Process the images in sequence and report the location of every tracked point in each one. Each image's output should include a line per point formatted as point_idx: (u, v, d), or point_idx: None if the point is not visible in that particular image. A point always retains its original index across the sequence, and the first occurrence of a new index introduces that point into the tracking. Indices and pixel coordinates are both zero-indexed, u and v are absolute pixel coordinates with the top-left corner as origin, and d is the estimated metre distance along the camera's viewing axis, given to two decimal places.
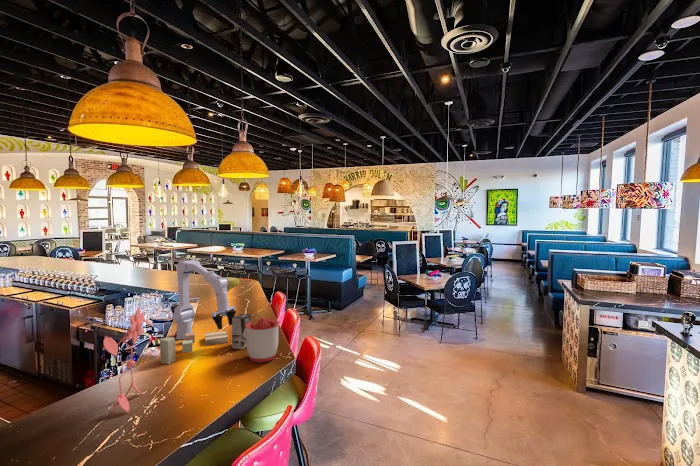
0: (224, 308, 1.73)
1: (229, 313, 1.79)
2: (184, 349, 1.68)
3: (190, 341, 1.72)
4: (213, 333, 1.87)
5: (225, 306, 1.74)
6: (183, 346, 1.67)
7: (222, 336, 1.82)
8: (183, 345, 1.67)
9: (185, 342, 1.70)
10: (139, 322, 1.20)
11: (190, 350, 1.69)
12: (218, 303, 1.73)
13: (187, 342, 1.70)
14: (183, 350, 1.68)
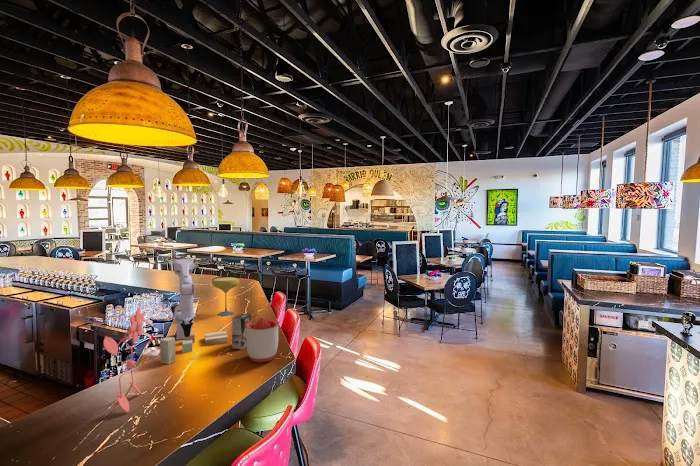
0: (192, 314, 1.69)
1: None
2: (184, 349, 1.68)
3: (190, 341, 1.72)
4: (213, 333, 1.87)
5: (192, 312, 1.70)
6: (183, 346, 1.67)
7: (222, 336, 1.82)
8: (183, 345, 1.67)
9: (185, 342, 1.70)
10: (139, 322, 1.20)
11: (190, 350, 1.69)
12: (186, 310, 1.67)
13: (187, 342, 1.70)
14: (183, 350, 1.68)
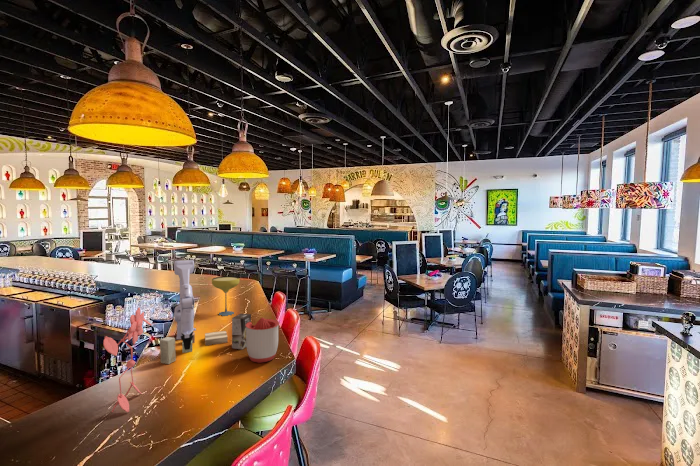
0: (192, 328, 1.69)
1: None
2: (184, 348, 1.68)
3: None
4: (213, 333, 1.87)
5: (192, 326, 1.70)
6: (183, 346, 1.67)
7: (222, 336, 1.82)
8: (183, 345, 1.67)
9: None
10: (139, 322, 1.20)
11: (190, 350, 1.69)
12: (187, 323, 1.67)
13: None
14: (183, 350, 1.68)
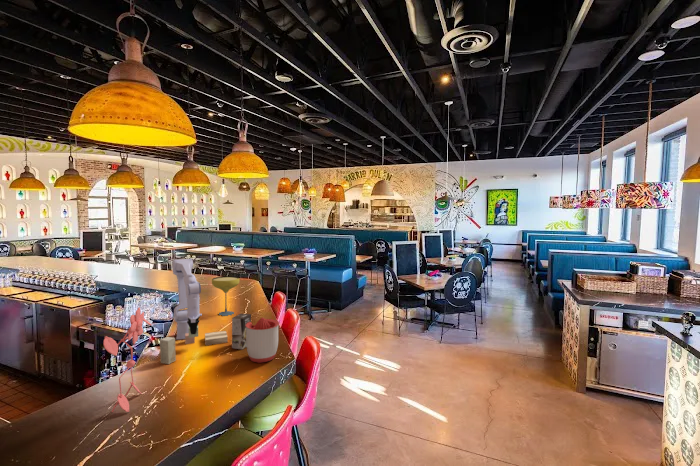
0: (198, 313, 1.72)
1: None
2: (190, 333, 1.70)
3: None
4: (213, 333, 1.87)
5: None
6: (189, 331, 1.70)
7: (222, 336, 1.82)
8: (189, 330, 1.70)
9: None
10: (139, 322, 1.20)
11: (196, 335, 1.71)
12: (193, 308, 1.70)
13: None
14: (189, 335, 1.70)
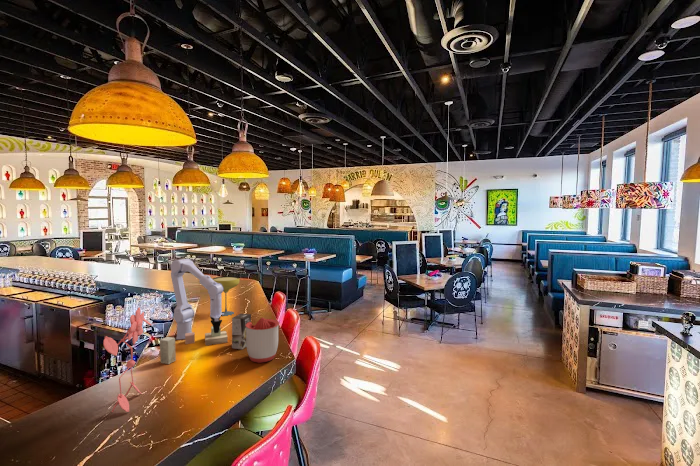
0: (220, 312, 1.83)
1: None
2: (213, 333, 1.82)
3: None
4: None
5: (221, 310, 1.84)
6: (212, 331, 1.81)
7: (222, 336, 1.82)
8: (212, 330, 1.81)
9: None
10: (139, 322, 1.20)
11: (218, 334, 1.83)
12: (216, 308, 1.81)
13: None
14: (212, 334, 1.81)
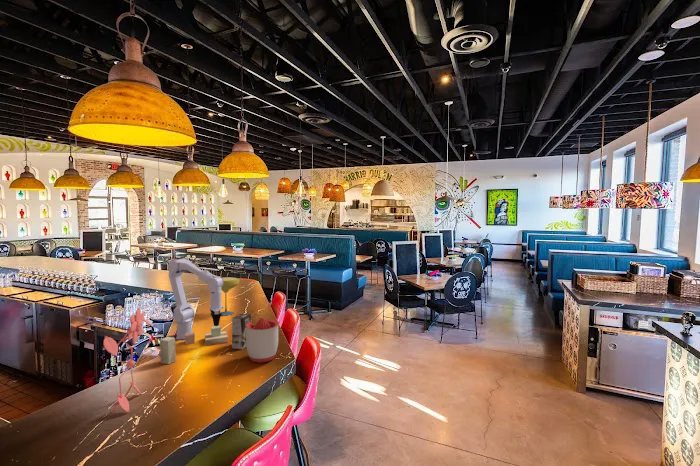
0: (220, 306, 1.83)
1: None
2: (213, 333, 1.82)
3: (218, 326, 1.85)
4: None
5: None
6: (212, 331, 1.81)
7: (222, 336, 1.82)
8: (212, 330, 1.81)
9: (214, 327, 1.83)
10: (139, 322, 1.20)
11: (218, 334, 1.83)
12: (216, 301, 1.81)
13: (216, 327, 1.83)
14: (212, 334, 1.81)
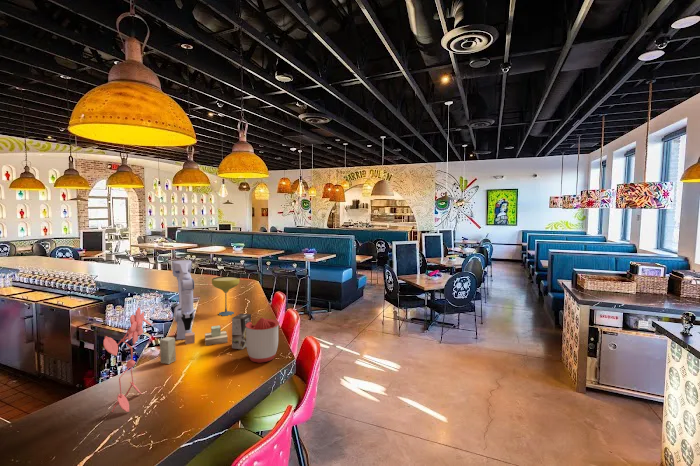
0: (192, 309, 1.76)
1: None
2: (213, 333, 1.82)
3: (218, 326, 1.85)
4: None
5: (192, 307, 1.77)
6: (212, 331, 1.81)
7: (222, 336, 1.82)
8: (212, 330, 1.81)
9: (214, 327, 1.83)
10: (139, 322, 1.20)
11: (218, 334, 1.83)
12: (187, 304, 1.74)
13: (216, 327, 1.83)
14: (212, 334, 1.81)
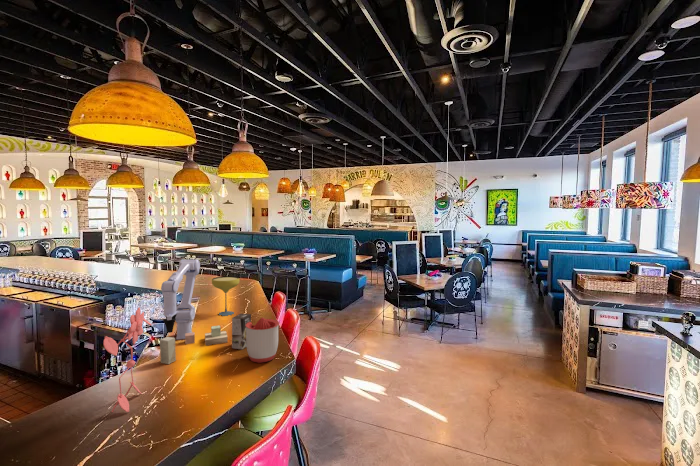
0: (175, 311, 1.72)
1: None
2: (213, 333, 1.82)
3: (218, 326, 1.85)
4: None
5: (175, 309, 1.73)
6: (212, 331, 1.81)
7: (222, 336, 1.82)
8: (212, 330, 1.81)
9: (214, 327, 1.83)
10: (139, 322, 1.20)
11: (218, 334, 1.83)
12: (169, 306, 1.70)
13: (216, 327, 1.83)
14: (212, 334, 1.81)
